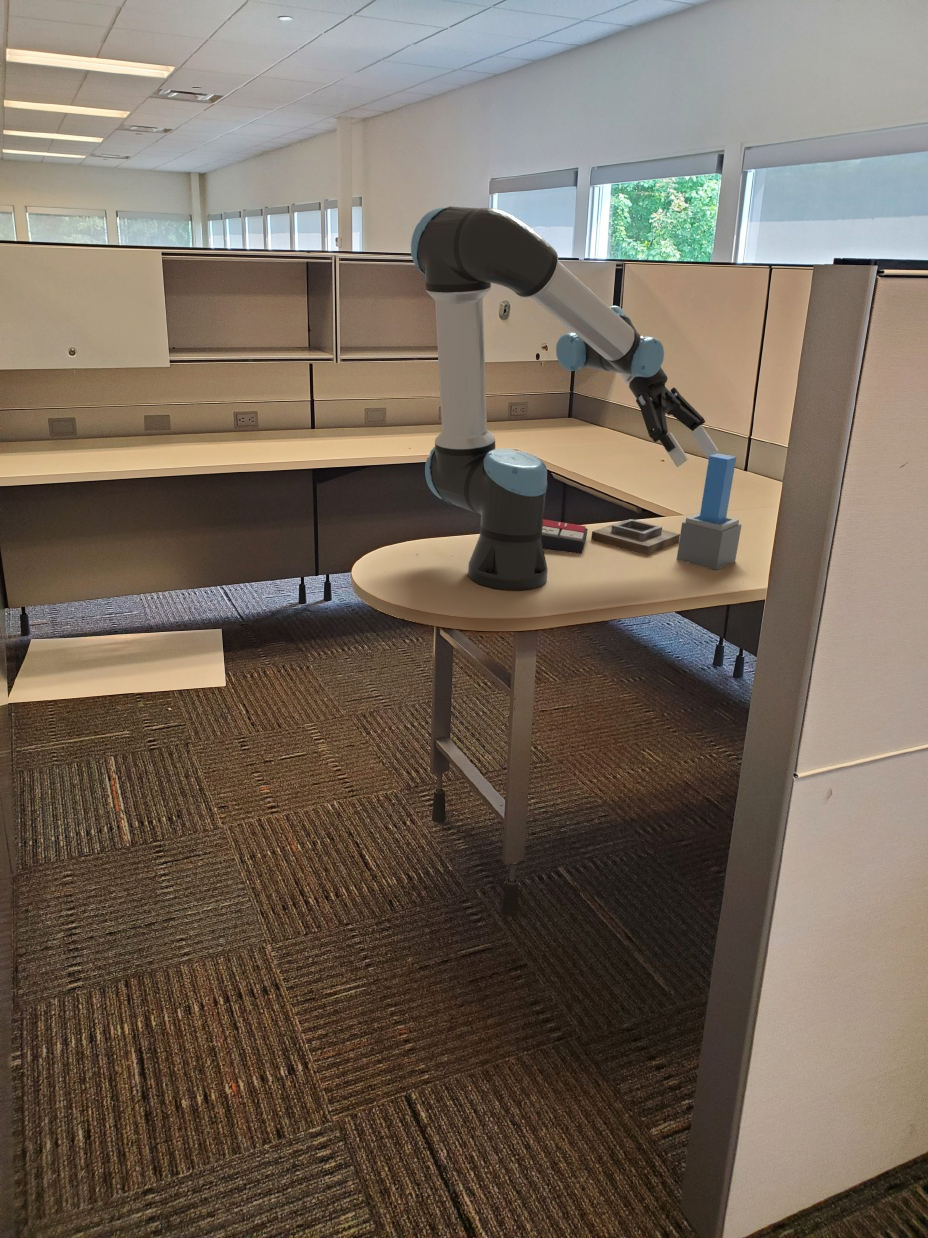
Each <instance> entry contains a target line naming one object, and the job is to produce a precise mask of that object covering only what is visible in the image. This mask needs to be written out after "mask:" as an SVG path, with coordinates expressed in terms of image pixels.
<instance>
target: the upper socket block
mask: <svg viewBox="0 0 928 1238" xmlns="http://www.w3.org/2000/svg"><path fill="white" fill-rule="evenodd" d="M699 518H700V512H699V513H695V514H694V515H691V516H687V517H686V518H685V521H683V522H681V526H680V527H681V528H680V532H679V534H680V538H679V543H678V549H677V553H676V560H678V561H681V562H683V563H684V562H685V563H689V564H691V565H696V566H699V567H703V568H706V569H710V570H714V571H717V570H720V569H722V568H724V567H726V566H727V565H730V564H732V563H734V562H736V559H737V552H738V549H739V548H738V546H739V542H740V541H739V540H740V535H741V531H742V523H739V522H740V519H738V518H733V517H729V516H726V522H725V523H723V524H720V525H719V524H715V523H711V522H706V521H702V520H699Z"/></svg>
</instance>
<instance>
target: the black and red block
mask: <svg viewBox="0 0 928 1238" xmlns="http://www.w3.org/2000/svg"><path fill="white" fill-rule="evenodd" d="M586 527H587V526H586V525H580V524H575V523H569V522H568V523H567V522H561V521H556V520H555V521H554V520H550V519H544V518H543V527H542V538H541V542H542V546H543V550H545V551H546V550H547V551H554V552H562V553H570V552H571V553H572V554H578V553H579V554H580V555H581V554H583V552H584V549H585V545H586V541H587V537H588V535H587V534H588V530H589V529H588V528H586Z"/></svg>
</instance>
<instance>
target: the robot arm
mask: <svg viewBox="0 0 928 1238" xmlns="http://www.w3.org/2000/svg"><path fill="white" fill-rule="evenodd" d="M410 253H411V258H412V259H411V260H412V261H413V263H414V264H413V265H414V266H415V267H417V269H418V271H419V272H420V273H421V274H422V275H424V276H425V277H424V278H425V279H424V280H425V292H426V293H427V294H428V295H429V296H430V298H432V299H433V300H434V303H435V304H434V305H435V322H436V323H435V324H436V341H437V360H438V376H439V377H438V379H439V380H438V381H439V396H440V397H439V398H440V414H441V415H440V416H441V417H440V418H441V419H440V420H441V431H440V433H439V434H438V435H437V436H436V437H435V438H434V446H433V447H432V449H431V450H430V452H429V456H428V457H427V458H426V460H425V467H424V473H425V480H426V484H427V485H428V488H429V489H430V491H431V492H432V493H433V494H434V495H435V496H436V497H438V499H440V500H442V501H444V502H446V503H447V504H448V505H451V506H456V507H459V508H461V509H465V510H467V511H471V512H472V513H475V514H479V515H480V528H479V537H478V540H477V542H476V544H475V547H474V549H473V552H472V554H471V557H470V559H469V562H468V566H467V567H468V569H467V572H468V573H467V575H468V578H469V579H470V580H471V581H473V582H475V583H477V584H478V585H482V586H485V587H489V588H493V589H499V590H508V591H510V590H511V591H519V590H520V591H521V590H522V591H523V590H524V591H525V590H530V589H536V588H538V587H542V586H543V585H545V584H546V582H547V579H548V571H549V570H548V564H547V560H546V556H545V551H544V550H545V549H543V546H542V542H541V538H542V527H543V519H544V517H545V509H546V508H545V507H546V498H547V489H548V480H547V479H548V469H547V466H546V463H545V462H544V461H543V460H542V459H541V458H539V457H537V456H536V455H533V454H532V453H529V452H526V451H522V450H520V451H519V450H515V449H513V448H496V437H495V435H494V434H493V433H492V432H491V431H490V430H488V423H487V420H488V419H487V418H488V417H487V392H486V391H487V390H486V389H487V388H486V364H485V363H486V361H485V359H486V357H485V355H486V353H485V330H484V326H485V325H484V323H485V322H484V297H485V296H486V295H487V294H488V293H489V291H490V290H491V289H492V285H491V284H495V285H499V286H501V287H505V288H508V289H509V290H511V291H512V292H514V294H516V295H517V296H519V297H520V298H524V299H525V298H526V299H527V298H530V299H532V300H533V301H534V302H535V303H536V304H538V305H539V306H540V307H541V308H543V309H544V310H545V311H546V312H548V313H549V314H551V315H552V316H553V317H554V318H555V319H556V320H558V321H559V322H560V323H561V324H562V325H563V326H565V327H566V328H567V329H569V331H570V332H568V333H565V334H563V335H561V336H560V337H559V338H558V340H557V342H556V344H555V345H556V346H555V352H556V358H557V361H558V363H559V365H560V366H561V367H562V368H563V369H565V370H566V371H570V372H574V371H580V370H583V369H585V368H588V369H589V368H590V369H595V370H601V371H605V372H612V373H618V374H619V375H620V376H621V377H622V380H624V383H625V384H628V388H629V389H630V391H631V392H632V393H633V395H634V397H635V403H636V405H637V406H638V407H639V409H640V412H641V415H642V418H643V421H644V424H645V427H646V431H647V433H648V437H649V438H650V439H652V441H653V442H654V443H657V442H658V441H659V442H660V444H661V446H663V448H664V449H665V451H666V453H667V455H668V456H669V457H670V459H671V460H672V462H673V463H674V465H675V466H676V468H679V467H680V466H682V465H683V464H684V463H686V462H687V461H688V460H689V457H688V456H687V454H686V452H685V451H684V449H683V448H682V447H681V445H680V443H679V442H678V441H677V439H676V437H675V435H674V434H673V433H672V432H671V431H670V432H669V430H668V423H667V416H666V415H668V416H670V415H671V416H672V417H674V418H675V419H676V420H678V421H679V422H680V423H681V424H683V425H684V426H685V427H686V428H688V429H689V430H690V431H691V432H690V434H691V437H692V438H694V440H695V442H696V443H697V445H698V446H699V448H700V449H701V452H703V455H705V457H706V459H709V456H711V455H714V454H715V453H716V454H717V452H719V449H718V447H717V446H716V444H715V443H714V440H713V439H712V438H711V437H710V435H709V433H708V432H707V430H706V429H705V427H704V426H703V425H704V424H705V423H706V420H705V418H704V417H703V416H702V415H701V414H700V413H699V412H698V411H697V410H696V409H695V408H694V407H693V406H692V405H691V404H690V403H689V402H688V401H687V400H686V399H685V398H684V397H683V395H681V394H680V392H679V391H678V390H677V388H676V387H672V388H671V389H670V390H669V389H668V388H667V387H666V383H667V382H668V376H667V374H666V372H664V369H663V368H662V364H663V363H664V359H665V358H664V357H665V349H664V346H663V343H662V342H661V341H660V340H659V339H658V338H656V337H652V336H650V335H642V334H640V333H639V332H638V331H637V329H636V328H635V326H634V325H633V322H632V320H631V318H630V317H629V316H628V314H626V312H625V311H624V310H623V309H622V308H621V307H620V306H618V305H612V306H611V305H610V306H609V305H608V304H607V303H605V301H604V300H602V299H601V298H600V297H599V296H598V295H596V293H594V292H593V291H592V290H591V289H590V288H589V287H588V286H587V285H585V284H584V283H583V282H582V281H581V280H580V279H579V278H578V277H577V276H576V275H574V274H573V272H571V271H570V270H569V269H568V268H567V267H566V266H565V265H563V264H562V262H560V261H559V254H558V252H557V251H556V249H555V248H554V247H553V246H552V245H551V244H550V243H549V242H547V241H546V239H545V238H543V236H541V235H539V234H538V233H537V232H536V231H535V230H534V229H532V228H531V227H530V226H529V225H527V224H526V223H525V222H524V221H522V220H520V219H518V218H517V217H516V216H514V215H512V214H510V213H509V212H506V211H504V210H501V209H498V208H495V207H494V208H493V207H465V206H450V205H449V206H447V207H438V208H435V209H432V210H430V211H428V212H427V213H425V214H424V215H423V217H422V218H421V219H420V220H419V222H418V223H417V224H416V225H415V228H414V230H413V233H412V236H411V241H410Z"/></svg>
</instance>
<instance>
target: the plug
mask: <svg viewBox="0 0 928 1238" xmlns="http://www.w3.org/2000/svg"><path fill="white" fill-rule="evenodd" d="M736 460H737V456H733V455H729V454H722V453H716V454H715V453H714V454H713V455H711V456H709V458H708V461H707V462H708V463H707V467H706V468H707V469H706V475H705V482H704V486H703V495H702V500H701V506H700V507H701V508H700V512H699V513H700V518H699V520H702V521H706V522H711V523H715V524H719V525H720V524H723V523H725V522H726V517H728V516H727V515H728V509H729V504H730V498H731V490H732V485H733V480H734V474H735V467H736V462H737V461H736Z"/></svg>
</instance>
